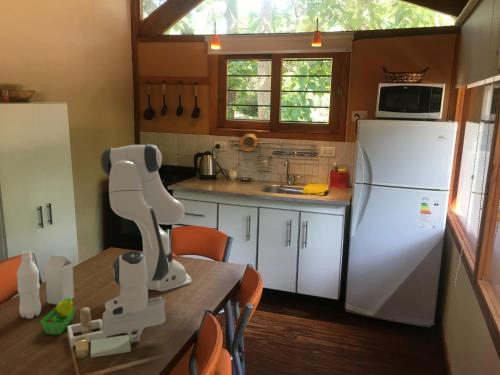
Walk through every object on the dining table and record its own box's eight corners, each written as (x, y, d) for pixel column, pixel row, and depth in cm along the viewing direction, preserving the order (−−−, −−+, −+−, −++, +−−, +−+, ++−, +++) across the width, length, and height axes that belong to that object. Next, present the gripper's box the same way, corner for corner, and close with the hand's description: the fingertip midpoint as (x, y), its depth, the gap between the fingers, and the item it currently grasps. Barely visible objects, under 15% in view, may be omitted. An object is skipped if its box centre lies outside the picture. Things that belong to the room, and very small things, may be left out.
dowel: (90, 332, 145) (88, 306, 142) (93, 337, 142) (91, 310, 140) (81, 335, 143) (78, 309, 140) (83, 340, 140) (81, 313, 138)
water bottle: (25, 310, 159) (20, 248, 154) (44, 310, 160) (40, 248, 155) (16, 320, 152) (11, 254, 147) (37, 320, 153) (32, 254, 148)
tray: (101, 328, 149) (101, 318, 148) (106, 340, 141) (106, 331, 141) (68, 335, 144) (67, 325, 143) (71, 349, 136) (70, 339, 135)
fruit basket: (56, 319, 154) (54, 290, 152) (80, 320, 154) (79, 291, 152) (40, 335, 143) (38, 305, 141) (66, 337, 143) (64, 306, 141)
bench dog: (87, 353, 134) (86, 336, 133) (89, 359, 131) (88, 341, 130) (75, 356, 132) (74, 338, 131) (77, 362, 129) (76, 344, 128)
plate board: (129, 341, 142) (129, 334, 141) (130, 354, 134) (130, 347, 134) (91, 347, 138) (91, 340, 137) (90, 361, 131) (90, 353, 130)
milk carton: (63, 305, 164) (60, 259, 160) (47, 303, 166) (44, 257, 162) (74, 297, 171) (72, 253, 167) (58, 295, 172) (56, 251, 169)
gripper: (162, 291, 144) (162, 328, 147) (99, 303, 134) (101, 343, 137) (168, 299, 139) (168, 337, 142) (103, 312, 129) (105, 353, 132)
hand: (134, 340), depth 139 cm, fingers closed
